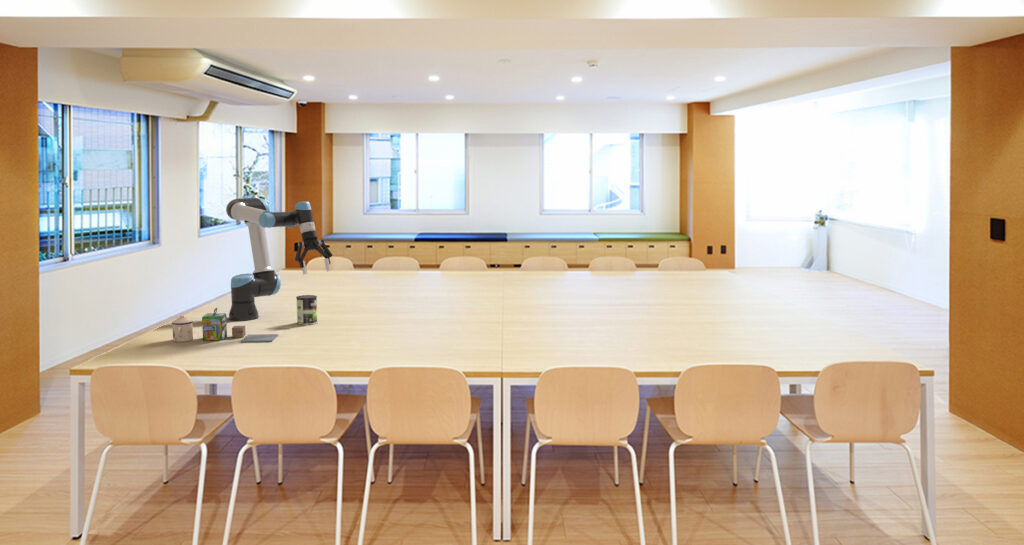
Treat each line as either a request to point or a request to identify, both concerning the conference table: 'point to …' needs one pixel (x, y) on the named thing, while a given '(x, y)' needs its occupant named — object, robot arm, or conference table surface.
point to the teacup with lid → (182, 329)
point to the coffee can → (306, 309)
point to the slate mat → (259, 338)
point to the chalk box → (214, 326)
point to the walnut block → (238, 331)
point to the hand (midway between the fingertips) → (317, 272)
